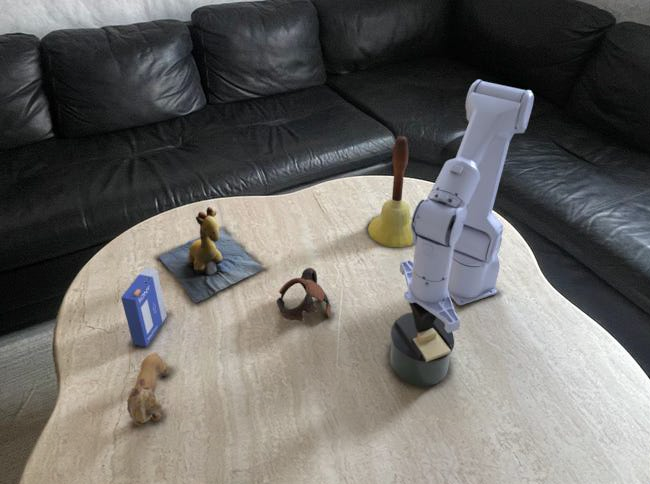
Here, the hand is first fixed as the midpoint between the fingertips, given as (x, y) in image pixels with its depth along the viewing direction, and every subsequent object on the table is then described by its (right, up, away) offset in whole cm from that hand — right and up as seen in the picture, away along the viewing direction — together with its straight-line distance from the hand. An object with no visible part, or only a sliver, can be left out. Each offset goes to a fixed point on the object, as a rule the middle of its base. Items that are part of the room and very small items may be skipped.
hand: (422, 329), depth 86 cm
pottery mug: (-20, -1, +15) cm, 25 cm away
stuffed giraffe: (-41, +5, +26) cm, 49 cm away
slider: (+1, -2, -2) cm, 3 cm away
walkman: (-49, -4, +10) cm, 50 cm away
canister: (0, -7, +4) cm, 8 cm away
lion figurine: (-44, -11, -3) cm, 46 cm away
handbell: (0, +11, +36) cm, 38 cm away
